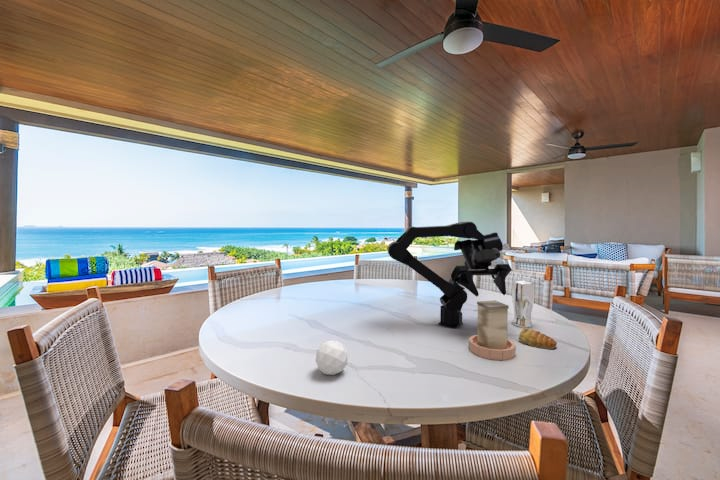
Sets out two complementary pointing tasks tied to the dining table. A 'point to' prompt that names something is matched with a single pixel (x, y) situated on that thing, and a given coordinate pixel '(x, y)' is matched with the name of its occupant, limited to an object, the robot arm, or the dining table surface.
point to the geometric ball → (331, 357)
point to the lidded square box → (492, 324)
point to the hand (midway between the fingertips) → (491, 295)
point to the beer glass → (522, 303)
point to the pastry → (537, 339)
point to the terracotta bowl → (492, 350)
